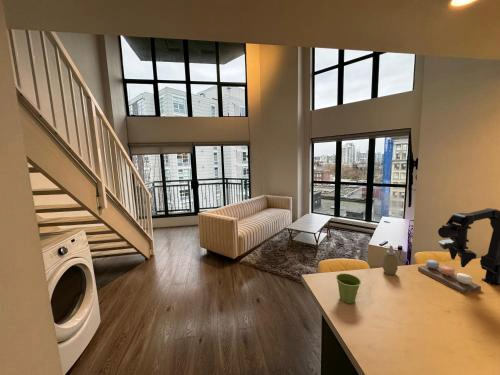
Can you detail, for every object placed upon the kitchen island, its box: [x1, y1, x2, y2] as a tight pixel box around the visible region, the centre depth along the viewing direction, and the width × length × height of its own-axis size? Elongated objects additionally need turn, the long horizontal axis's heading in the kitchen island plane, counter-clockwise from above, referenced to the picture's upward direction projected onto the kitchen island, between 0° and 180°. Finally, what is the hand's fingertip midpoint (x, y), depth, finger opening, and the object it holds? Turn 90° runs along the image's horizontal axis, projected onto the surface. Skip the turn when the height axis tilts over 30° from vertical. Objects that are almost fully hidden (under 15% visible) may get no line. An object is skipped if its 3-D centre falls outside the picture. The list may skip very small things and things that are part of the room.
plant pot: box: [335, 272, 362, 304], centre depth 110 cm, size 12×12×11 cm
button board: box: [417, 265, 482, 294], centre depth 126 cm, size 12×25×2 cm, turn 11°
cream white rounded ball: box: [456, 272, 473, 285], centre depth 117 cm, size 6×6×6 cm
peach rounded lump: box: [440, 265, 456, 277], centre depth 125 cm, size 6×6×6 cm
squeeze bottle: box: [382, 245, 399, 276], centre depth 134 cm, size 8×8×18 cm
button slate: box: [425, 259, 440, 270], centre depth 134 cm, size 6×6×6 cm
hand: (457, 263), depth 119 cm, fingers open, 9 cm apart
